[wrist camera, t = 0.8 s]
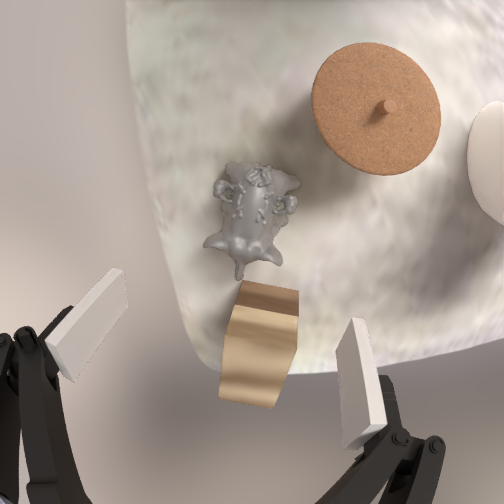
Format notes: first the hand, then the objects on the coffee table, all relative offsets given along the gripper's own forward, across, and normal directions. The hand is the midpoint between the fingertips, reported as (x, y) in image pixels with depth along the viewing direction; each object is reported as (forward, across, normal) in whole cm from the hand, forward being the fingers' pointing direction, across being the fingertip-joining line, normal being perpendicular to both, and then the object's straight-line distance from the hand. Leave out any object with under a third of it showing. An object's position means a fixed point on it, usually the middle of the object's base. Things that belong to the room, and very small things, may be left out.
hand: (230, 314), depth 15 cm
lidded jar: (+17, +8, +13) cm, 23 cm away
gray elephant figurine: (+17, 0, 0) cm, 17 cm away
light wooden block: (+12, +2, -15) cm, 19 cm away
